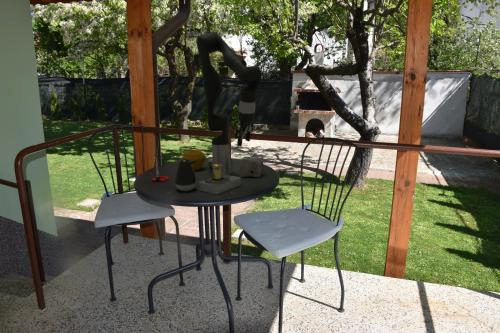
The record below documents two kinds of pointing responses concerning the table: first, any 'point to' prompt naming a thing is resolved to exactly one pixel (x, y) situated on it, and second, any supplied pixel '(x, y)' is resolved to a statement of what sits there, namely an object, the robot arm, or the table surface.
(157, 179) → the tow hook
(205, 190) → the hitch plate
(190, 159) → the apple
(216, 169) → the gold cylinder
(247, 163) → the stone
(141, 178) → the table surface
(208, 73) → the robot arm
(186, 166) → the dark grey ribbed bell
